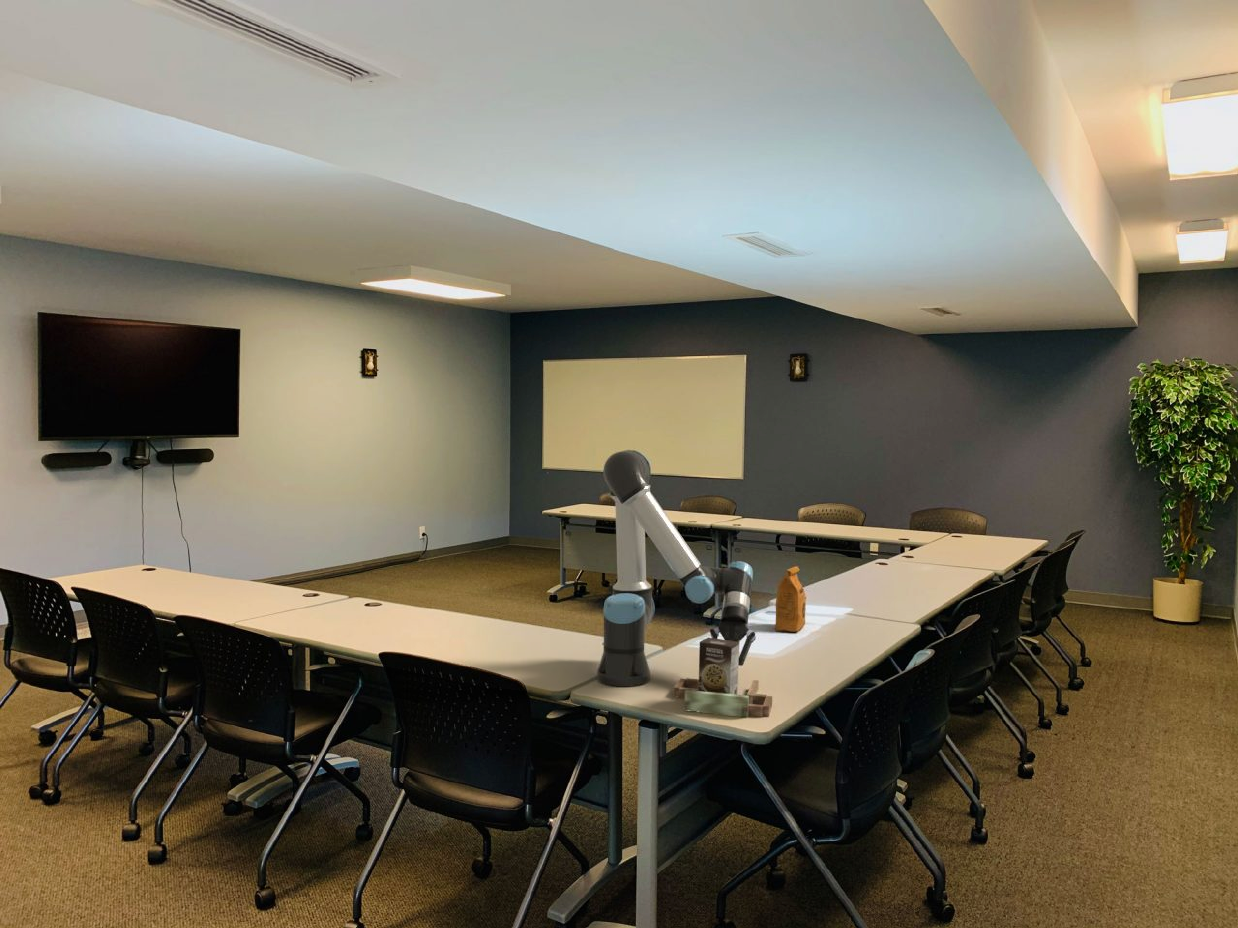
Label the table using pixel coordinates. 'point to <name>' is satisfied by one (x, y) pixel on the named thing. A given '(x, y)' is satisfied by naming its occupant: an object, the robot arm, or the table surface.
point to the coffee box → (718, 666)
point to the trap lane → (723, 700)
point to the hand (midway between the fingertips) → (726, 686)
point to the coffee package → (790, 603)
